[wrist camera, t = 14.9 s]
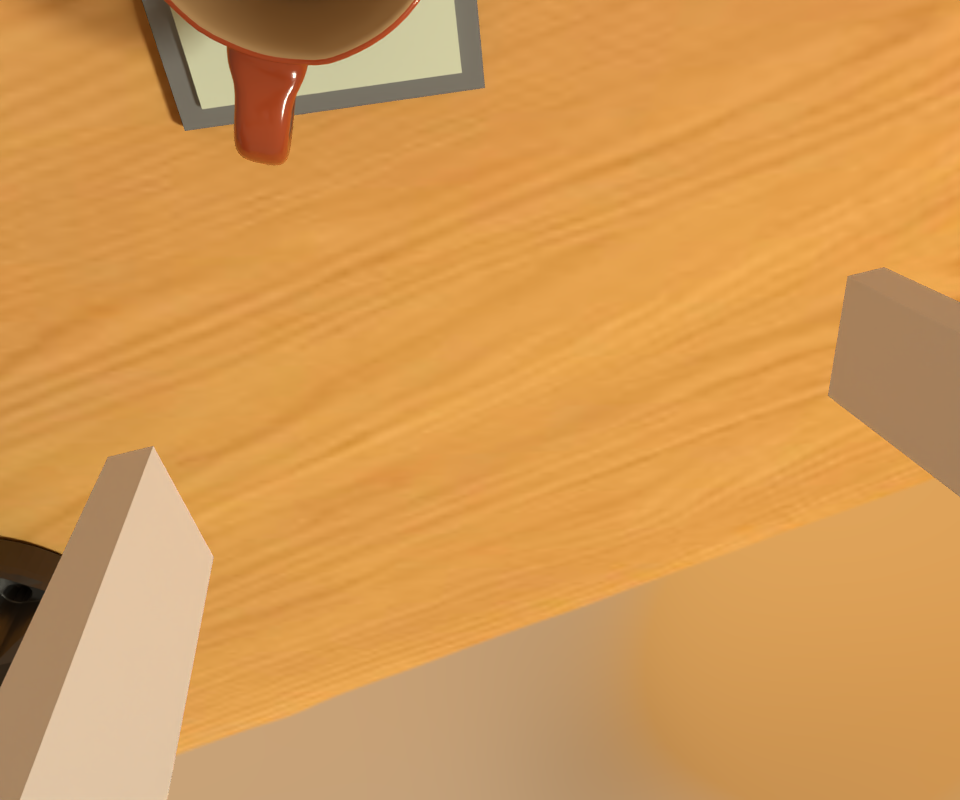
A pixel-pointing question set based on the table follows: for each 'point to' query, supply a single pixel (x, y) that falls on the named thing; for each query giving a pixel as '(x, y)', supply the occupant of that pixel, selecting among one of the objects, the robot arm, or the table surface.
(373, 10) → the mug
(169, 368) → the table surface
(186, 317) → the table surface
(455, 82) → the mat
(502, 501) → the table surface
